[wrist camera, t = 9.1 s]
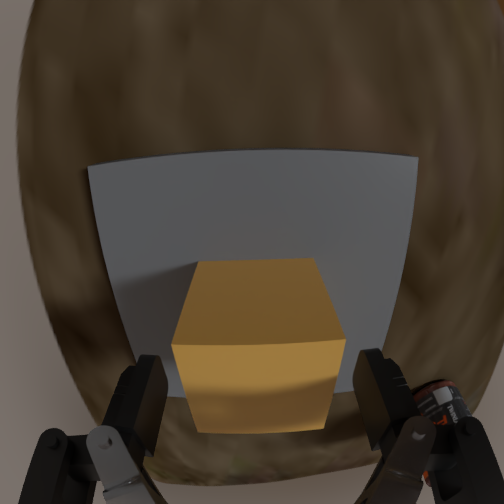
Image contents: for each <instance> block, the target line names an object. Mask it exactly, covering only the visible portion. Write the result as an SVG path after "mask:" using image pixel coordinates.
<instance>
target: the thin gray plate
mask: <svg viewBox="0 0 504 504" xmlns="http://www.w3.org/2000/svg"><path fill="white" fill-rule="evenodd" d="M417 170H418V157H415V156H412V155H407V154H398V153H387V152H376V151H362V150H346V149H322V148H248V149H224V150H207V151H193V152H181V153H171V154H161V155H152V156H144V157H136V158H128V159H121V160H115V161H108V162H102V163H96V164H93V165H91V166H88V174H89V181H90V188H91V194H92V200H93V206H94V212H95V217H96V222H97V227H98V232H99V237H100V242H101V246H102V250H103V255H104V259H105V263H106V267H107V271H108V275H109V279H110V282H111V286H112V289H113V293H114V296H115V300H116V303H117V306H118V310H119V313H120V316H121V319H122V322H123V325H124V328H125V331H126V334H127V337H128V340H129V343H130V346H131V349H132V351H133V354H134V357H135V359H136V362H137V361H138V358H139V356H140V355H141V354H145V355H159V356H160V358H161V361H162V364H163V367H164V370H165V373H166V376H167V379H168V394H167V396H173V397H186V395H185V391H184V388H183V385H182V382H181V378H180V375H179V371H178V368H177V364H176V361H175V357H174V353H173V350H172V346H171V343H172V340H173V337H174V334H175V330H176V327H177V324H178V321H179V318H180V315H181V312H182V309H183V306H184V303H185V300H186V297H187V294H188V291H189V288H190V285H191V282H192V279H193V276H194V273H195V270H196V267H197V264H198V261H230V260H264V259H295V258H314V261H315V263H316V265H317V268H318V270H319V273H320V275H321V277H322V280H323V282H324V285H325V287H326V289H327V292H328V294H329V297H330V299H331V302H332V304H333V307H334V309H335V312H336V314H337V317H338V319H339V322H340V324H341V327H342V330H343V332H344V335H345V337H346V342H345V347H344V351H343V356H342V360H341V365H340V369H339V373H338V377H337V381H336V385H335V389H334V393H339V392H347V391H354V388H353V383H352V377H353V372H354V369H355V365H356V362H357V358H358V355H359V352H360V350H364V349H372V348H379V349H380V350H381V351H382V347H383V344H384V341H385V338H386V334H387V331H388V328H389V324H390V320H391V317H392V313H393V309H394V306H395V302H396V298H397V293H398V289H399V285H400V281H401V276H402V271H403V267H404V262H405V257H406V251H407V246H408V240H409V234H410V228H411V222H412V215H413V207H414V199H415V191H416V181H417Z"/></svg>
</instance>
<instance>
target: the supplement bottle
mask: <svg viewBox="0 0 504 504" xmlns="http://www.w3.org/2000/svg"><path fill="white" fill-rule="evenodd" d="M413 397H414V400H415V402H416V404H417V406H418V409H419V411H420V413H421V415H422V416H424V417H427V418H429V419H430V420H431V421H432V422H433V423H434V424H439V425H450V424H456V423H457V422H458V420H459V419H461V418H462V417H465V416H472V415H471V413H470V411H469V409H468V407H467V405H466V403H465V401H464V399H463V397H462V396H461V394H460V392H459V390H458V388H457V387H456V385H455V384H454V383H453V382H452V381H447V380H444V381H438V382H435V383H432V384H430V385H428V386H426V387H425V388H423V389H421V390H420V391H418V392H417V393H416V394H415V395H414V396H413ZM423 476H424V479H425V481H426V484H427V485H428V486H429V487H431V483H430V479H429V476H428V472H427V471H424V472H423Z"/></svg>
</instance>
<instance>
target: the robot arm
mask: <svg viewBox="0 0 504 504" xmlns="http://www.w3.org/2000/svg"><path fill="white" fill-rule="evenodd" d="M352 383H353V388H354V392H355V395H356V398H357V401H358V405H359V408H360V411H361V415H362V418H363V422H364V425H365V428H366V432H367V435H368V439H369V443H370V446H371V450H372V451H374V450H379V449H381V452H382V456H381V458H380V460H379V462H378V464H377V466H376V468H375V470H374V472H373V474H372V475H371V477H370V479H369V481H368V483H367V485H366V486H365V488H364V490H363V492H362V493H361V495H360V496H359V497H358V499H357V500H356V502H355V503H354V504H416V502H417V500H418V497H419V495H420V493H421V490H422V487H423V481H422V480H421V478H422V475H423V472H424V471H427V472H428V476H429V479H430V483H431V487H432V491H433V496H434V500H435V504H504V480H503V477H502V474H501V471H500V468H499V465H498V463H497V460H496V457H495V454H494V452H493V450H492V447H491V444H490V442H489V440H488V437H487V435H486V432H485V430H484V428H483V425H482V424H481V422H480V421H479V420H478V419H476V418H475V417H472V416H465V417H462V418H461V419H459V420H458V422H457V423H456V424H450V425H439V424H434V423H433V422H432V421H431V420H430V419H429V418H427V417H424V416H422V415H421V413H420V411H419V409H418V406H417V404H416V402H415V400H414V397H413V395H412V393H411V391H410V389H409V387H408V386H407V382H406V380H405V378H404V377H403V374H402V372H401V370H400V367H399V366H398V365H397V364H396V363H395V362H394V361H393V360H392V359H391V358H389V359H384V357H383V355H382V352H381V350H380V349H379V348H372V349H364V350H360V352H359V355H358V358H357V362H356V365H355V369H354V372H353V377H352ZM167 394H168V379H167V376H166V373H165V370H164V367H163V364H162V361H161V358H160V356H159V355H145V354H141V355H140V356H139V358H138V361H137V364H136V366H129V367H128V368H127V369H126V370H125V371H124V372H123V373H122V374H121V376H120V378H119V381H118V383H117V386H116V389H115V391H114V394H113V396H112V399H111V401H110V404H109V407H108V409H107V412H106V415H105V417H104V420H103V422H102V424H101V426H98V427H96V428H94V429H93V430H91V431H90V433H89V434H87V435H77V436H67V435H66V434H65V433H64V432H63V431H62V430H60V429H57V428H51V429H48V430H46V431H44V432H43V433H42V434H41V436H40V438H39V441H38V443H37V446H36V449H35V451H34V454H33V457H32V460H31V463H30V466H29V469H28V472H27V475H26V478H25V482H24V485H23V488H22V492H21V495H20V499H19V503H18V504H92V503H93V497H94V492H95V487H96V483H97V481H101V482H102V484H103V486H104V489H105V490H104V491H103V496H104V499H105V501H106V503H107V504H168V503H167V502H166V501H165V499H164V498H163V496H162V495H161V493H160V492H159V490H158V489H157V487H156V485H155V484H154V482H153V481H152V479H151V477H150V476H149V474H148V472H147V471H146V469H145V467H144V465H143V460H144V456H148V457H153V456H154V451H155V447H156V442H157V437H158V433H159V429H160V424H161V420H162V415H163V411H164V407H165V403H166V399H167Z"/></svg>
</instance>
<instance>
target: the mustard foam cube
mask: <svg viewBox="0 0 504 504" xmlns="http://www.w3.org/2000/svg"><path fill="white" fill-rule="evenodd" d="M345 342H346V337H345V335H344V332H343V330H342V327H341V324H340V322H339V319H338V317H337V314H336V312H335V309H334V307H333V304H332V302H331V299H330V297H329V294H328V292H327V289H326V287H325V285H324V282H323V280H322V277H321V275H320V273H319V270H318V268H317V265H316V263H315V261H314V258H295V259H264V260H230V261H198V264H197V267H196V270H195V273H194V276H193V279H192V282H191V285H190V288H189V291H188V294H187V297H186V300H185V303H184V306H183V309H182V312H181V315H180V318H179V321H178V324H177V327H176V330H175V334H174V337H173V340H172V343H171V346H172V350H173V353H174V357H175V361H176V364H177V368H178V371H179V375H180V378H181V382H182V385H183V388H184V391H185V395H186V398H187V401H188V404H189V407H190V410H191V413H192V416H193V419H194V422H195V425H196V428H197V431H198V432H202V433H238V434H242V433H277V432H293V431H305V430H315V429H323V428H324V425H325V422H326V418H327V415H328V411H329V408H330V404H331V400H332V397H333V393H334V389H335V385H336V381H337V377H338V373H339V369H340V365H341V360H342V356H343V351H344V347H345Z"/></svg>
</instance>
